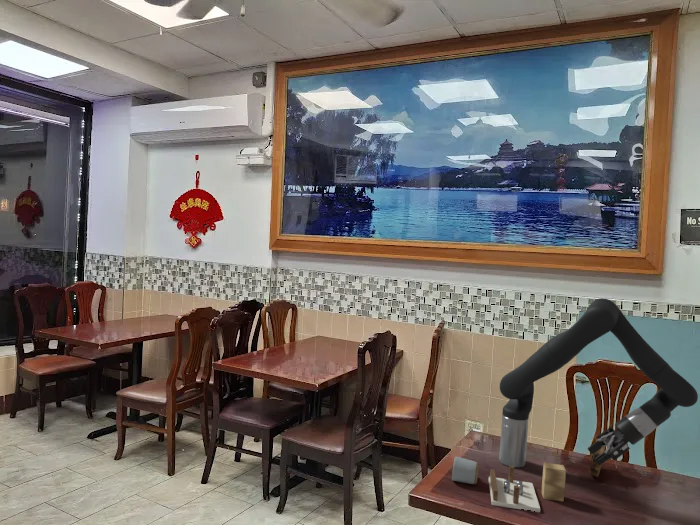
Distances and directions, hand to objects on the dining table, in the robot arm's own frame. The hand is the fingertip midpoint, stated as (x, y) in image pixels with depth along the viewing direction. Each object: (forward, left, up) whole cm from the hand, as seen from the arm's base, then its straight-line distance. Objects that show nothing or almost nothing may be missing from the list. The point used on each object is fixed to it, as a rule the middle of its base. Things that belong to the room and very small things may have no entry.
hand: (593, 456), depth 161 cm
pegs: (+13, -20, -13) cm, 27 cm away
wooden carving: (-24, -3, -15) cm, 29 cm away
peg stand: (+13, -20, -15) cm, 28 cm away
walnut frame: (+14, -23, -13) cm, 30 cm away
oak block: (+5, -10, -15) cm, 18 cm away
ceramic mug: (+14, -36, -15) cm, 41 cm away
